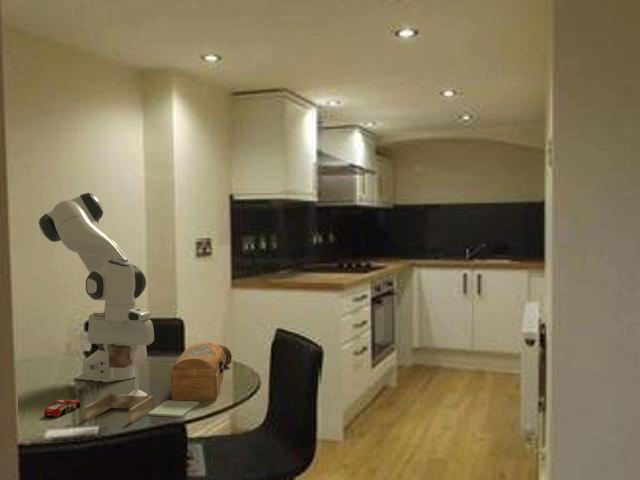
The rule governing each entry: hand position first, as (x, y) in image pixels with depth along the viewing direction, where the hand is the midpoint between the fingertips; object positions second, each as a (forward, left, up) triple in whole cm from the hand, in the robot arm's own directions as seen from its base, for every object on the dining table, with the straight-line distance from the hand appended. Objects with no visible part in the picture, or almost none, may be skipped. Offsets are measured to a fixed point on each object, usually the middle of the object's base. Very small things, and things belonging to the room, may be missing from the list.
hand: (120, 358), depth 188 cm
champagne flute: (-5, +21, -17) cm, 28 cm away
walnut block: (0, 0, -2) cm, 2 cm away
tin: (+6, +67, -17) cm, 70 cm away
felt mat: (+14, +8, -17) cm, 23 cm away
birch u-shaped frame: (0, 0, -17) cm, 17 cm away
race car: (-19, 0, -18) cm, 26 cm away
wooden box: (+12, +33, -18) cm, 40 cm away
